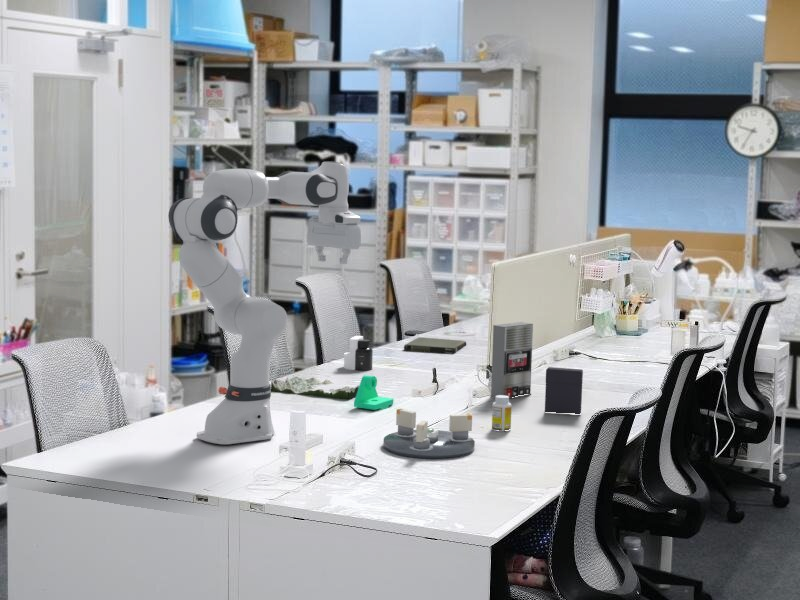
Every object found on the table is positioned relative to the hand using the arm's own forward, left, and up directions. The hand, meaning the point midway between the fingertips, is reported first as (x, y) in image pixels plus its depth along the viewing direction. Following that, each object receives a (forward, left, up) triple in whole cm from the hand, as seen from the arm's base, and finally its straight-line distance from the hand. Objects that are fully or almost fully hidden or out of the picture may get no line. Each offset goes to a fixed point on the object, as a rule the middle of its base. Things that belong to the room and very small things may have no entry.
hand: (332, 262), depth 352 cm
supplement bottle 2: (+26, -46, -47) cm, 71 cm away
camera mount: (+19, 0, -48) cm, 51 cm away
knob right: (+3, -50, -45) cm, 67 cm away
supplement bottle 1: (+59, +47, -47) cm, 89 cm away
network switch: (+111, +59, -48) cm, 135 cm away
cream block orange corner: (-5, -37, -45) cm, 58 cm away
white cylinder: (+59, +50, -47) cm, 90 cm away
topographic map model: (+31, +32, -48) cm, 66 cm away
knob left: (-12, -50, -45) cm, 68 cm away
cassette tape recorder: (+64, -19, -47) cm, 82 cm away
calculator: (+56, -46, -47) cm, 87 cm away
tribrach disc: (-5, -46, -47) cm, 66 cm away
